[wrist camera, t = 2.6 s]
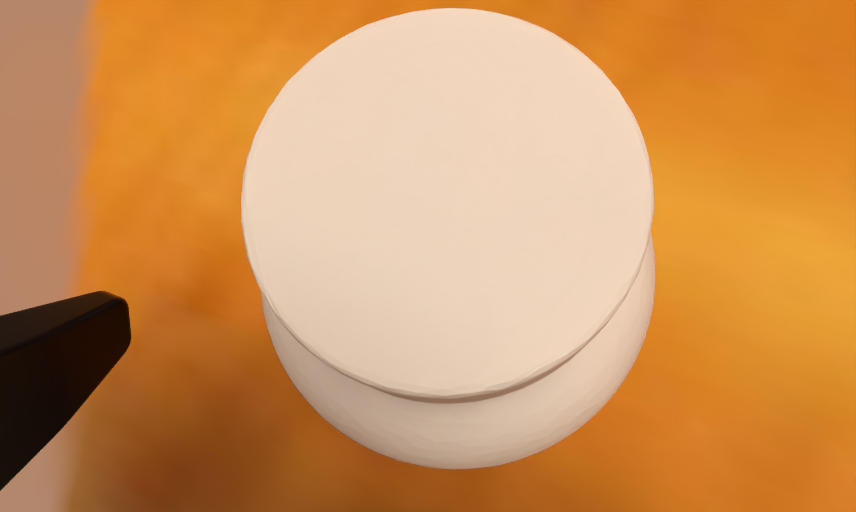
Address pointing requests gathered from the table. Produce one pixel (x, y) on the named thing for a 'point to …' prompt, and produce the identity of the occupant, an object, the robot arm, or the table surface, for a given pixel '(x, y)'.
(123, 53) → the table surface
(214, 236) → the table surface
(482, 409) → the supplement bottle
